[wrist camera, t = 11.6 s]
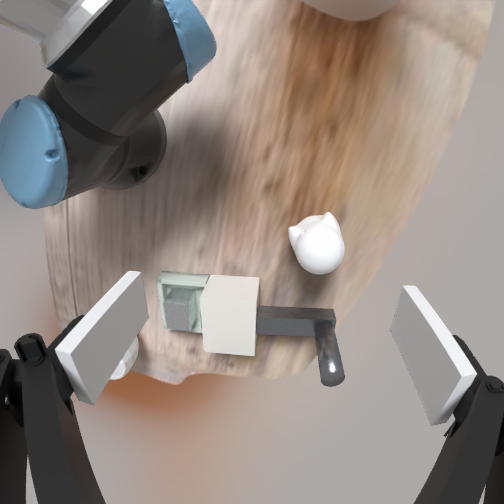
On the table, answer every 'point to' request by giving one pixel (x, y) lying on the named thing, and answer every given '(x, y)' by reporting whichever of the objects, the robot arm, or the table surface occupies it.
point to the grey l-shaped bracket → (306, 334)
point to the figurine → (318, 243)
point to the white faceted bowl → (126, 361)
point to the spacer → (180, 309)
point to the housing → (230, 314)
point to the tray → (182, 281)
